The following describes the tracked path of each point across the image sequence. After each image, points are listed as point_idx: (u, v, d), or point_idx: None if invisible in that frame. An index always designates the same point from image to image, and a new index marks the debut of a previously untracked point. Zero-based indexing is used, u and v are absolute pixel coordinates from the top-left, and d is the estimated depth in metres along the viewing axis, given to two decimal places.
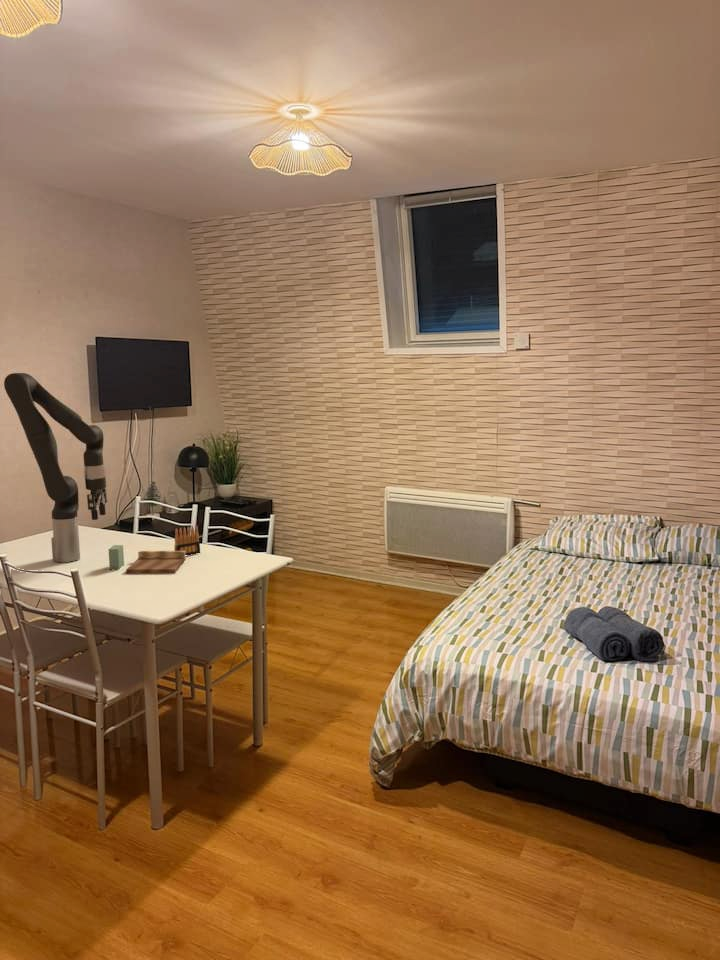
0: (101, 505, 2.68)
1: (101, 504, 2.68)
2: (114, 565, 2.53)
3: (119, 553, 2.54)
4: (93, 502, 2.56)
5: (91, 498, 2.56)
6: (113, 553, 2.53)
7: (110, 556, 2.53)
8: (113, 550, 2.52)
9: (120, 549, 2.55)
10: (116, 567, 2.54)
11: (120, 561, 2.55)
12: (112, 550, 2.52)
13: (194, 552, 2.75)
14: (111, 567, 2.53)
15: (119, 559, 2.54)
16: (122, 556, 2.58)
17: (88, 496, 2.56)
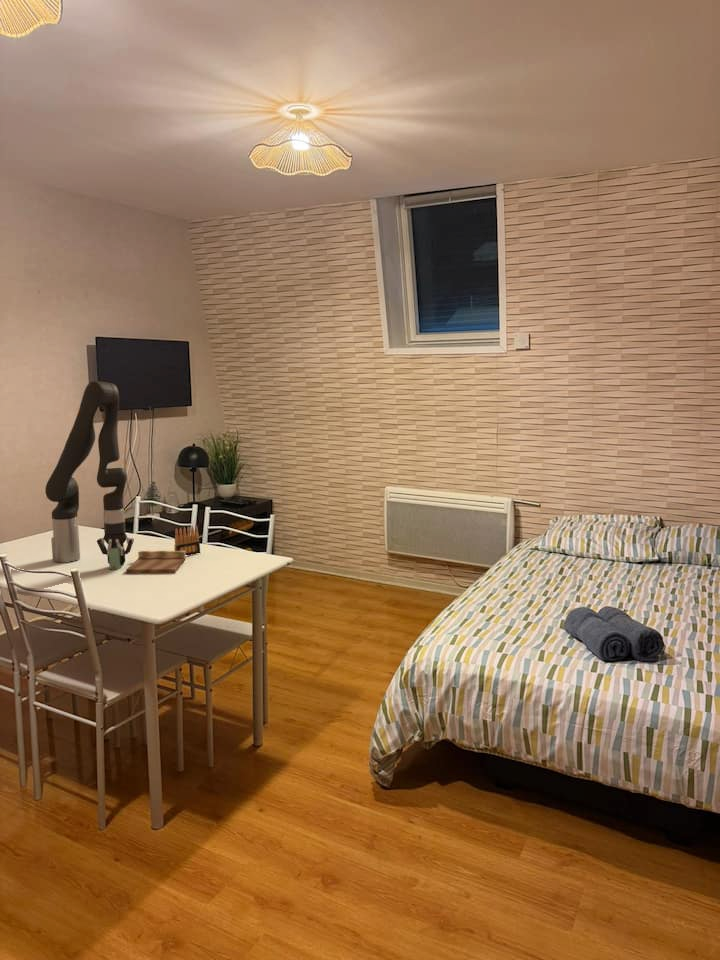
0: None
1: None
2: (114, 565, 2.53)
3: (119, 553, 2.54)
4: (131, 546, 2.57)
5: (132, 543, 2.56)
6: (113, 553, 2.53)
7: (110, 556, 2.53)
8: (113, 550, 2.52)
9: None
10: (116, 567, 2.54)
11: None
12: (112, 550, 2.52)
13: (194, 552, 2.75)
14: (111, 567, 2.53)
15: (119, 559, 2.54)
16: None
17: (132, 541, 2.54)
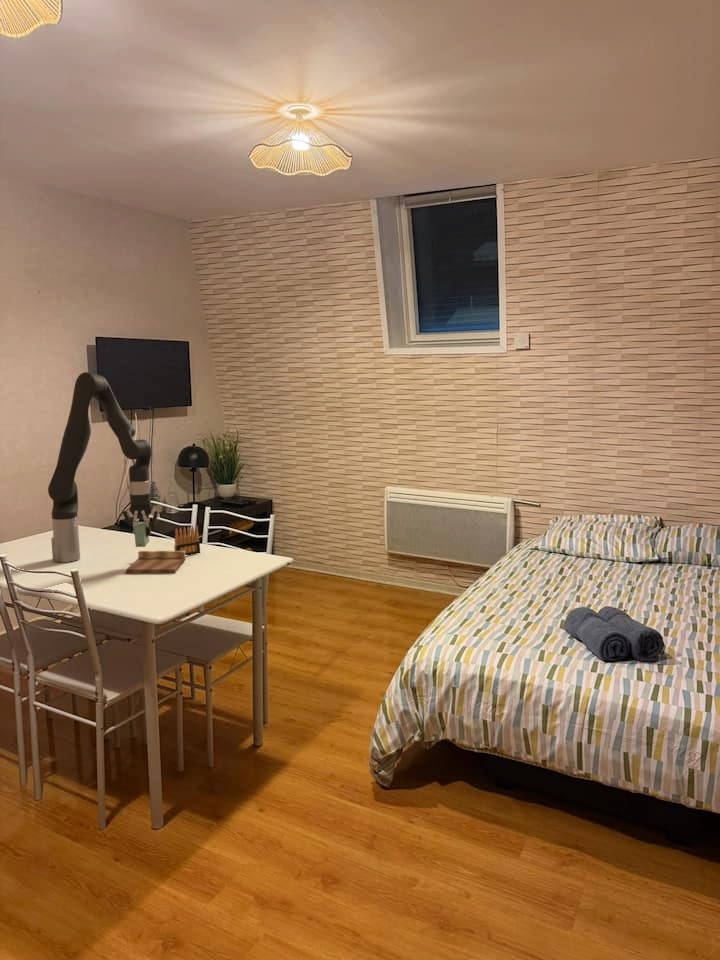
0: None
1: None
2: (140, 542, 2.56)
3: (144, 530, 2.56)
4: None
5: (157, 514, 2.58)
6: (138, 531, 2.54)
7: (136, 534, 2.55)
8: (138, 528, 2.54)
9: (145, 526, 2.57)
10: (142, 544, 2.56)
11: (145, 538, 2.57)
12: (137, 528, 2.54)
13: (194, 552, 2.75)
14: (137, 544, 2.56)
15: (145, 536, 2.56)
16: None
17: (157, 513, 2.57)
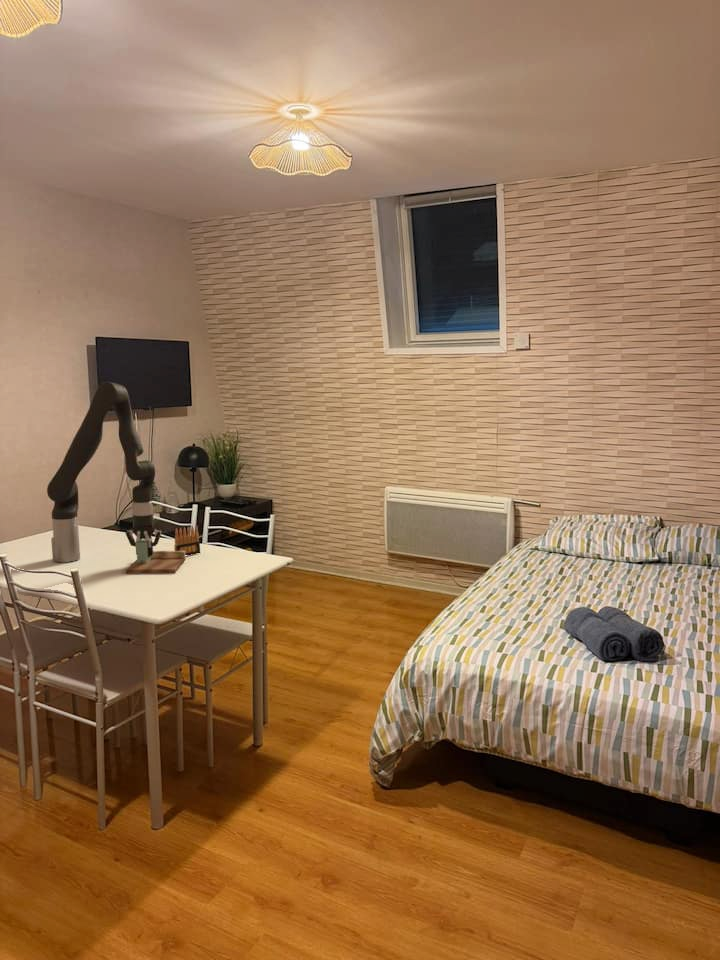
0: None
1: None
2: (142, 558, 2.57)
3: (147, 547, 2.57)
4: (159, 538, 2.60)
5: (160, 535, 2.59)
6: (141, 547, 2.56)
7: (138, 550, 2.56)
8: (141, 544, 2.56)
9: (147, 543, 2.59)
10: (144, 560, 2.57)
11: (147, 554, 2.58)
12: (140, 544, 2.56)
13: (194, 552, 2.75)
14: (139, 560, 2.57)
15: (147, 552, 2.58)
16: None
17: (160, 534, 2.58)
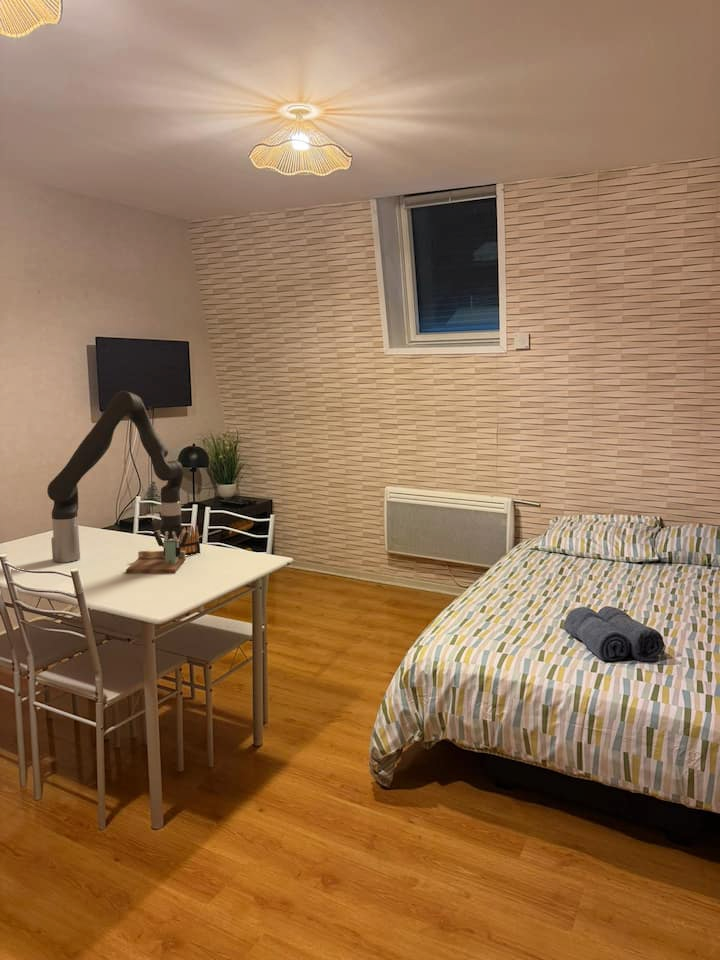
0: None
1: None
2: (170, 558, 2.57)
3: (175, 547, 2.58)
4: None
5: None
6: (169, 547, 2.56)
7: (166, 549, 2.56)
8: (169, 544, 2.56)
9: None
10: (172, 560, 2.57)
11: (175, 554, 2.58)
12: (168, 544, 2.56)
13: (194, 552, 2.75)
14: (167, 560, 2.57)
15: (175, 552, 2.58)
16: None
17: (188, 534, 2.58)
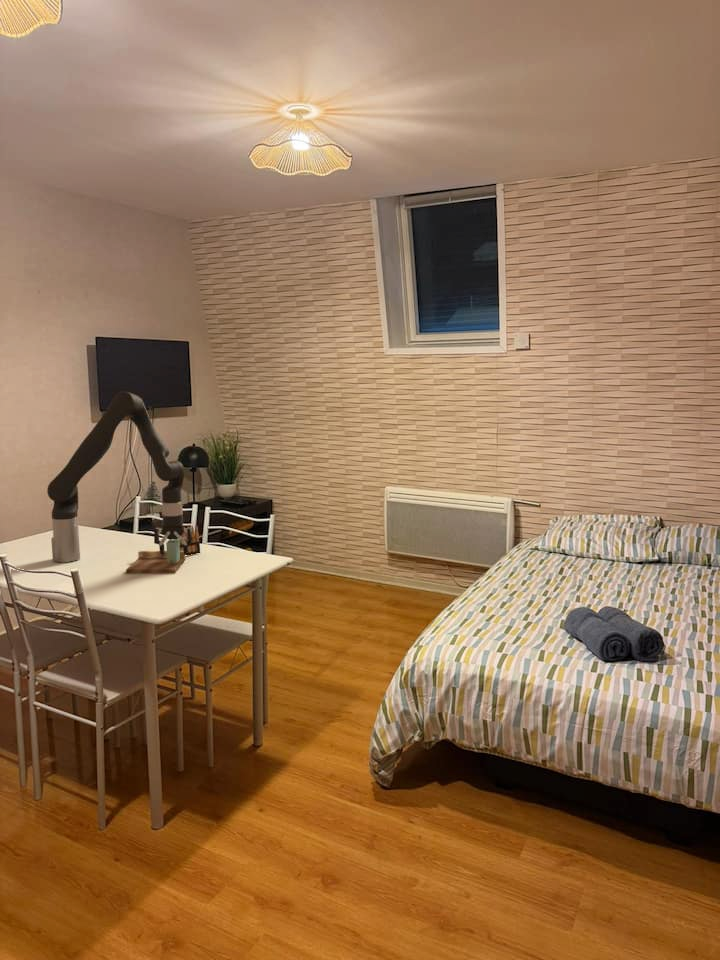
0: (163, 544, 2.59)
1: (162, 543, 2.59)
2: (171, 558, 2.57)
3: (176, 547, 2.58)
4: None
5: (191, 531, 2.59)
6: (171, 547, 2.56)
7: (168, 550, 2.56)
8: (171, 544, 2.56)
9: (177, 543, 2.59)
10: (173, 560, 2.57)
11: (177, 554, 2.58)
12: (170, 544, 2.56)
13: (194, 552, 2.75)
14: (168, 560, 2.57)
15: (176, 552, 2.58)
16: (178, 550, 2.61)
17: (190, 530, 2.58)
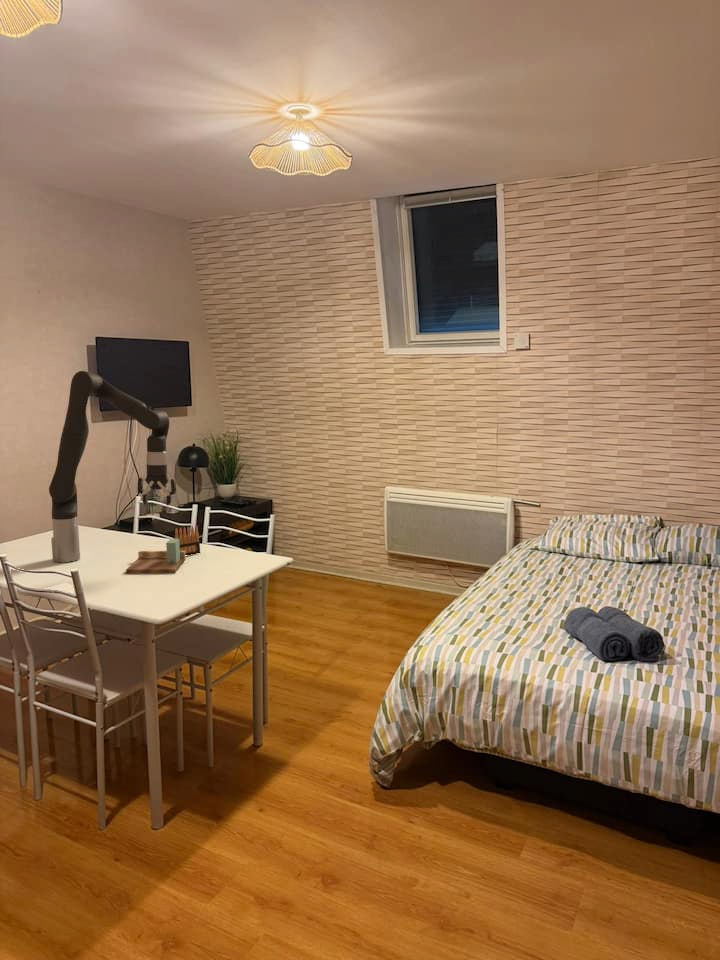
0: (146, 494, 2.59)
1: (146, 493, 2.59)
2: (171, 558, 2.57)
3: (176, 547, 2.58)
4: (175, 486, 2.59)
5: (175, 482, 2.58)
6: (171, 547, 2.56)
7: (168, 550, 2.56)
8: (171, 544, 2.56)
9: (177, 543, 2.59)
10: (173, 560, 2.57)
11: (177, 554, 2.58)
12: (170, 544, 2.56)
13: (194, 552, 2.75)
14: (168, 560, 2.57)
15: (176, 552, 2.58)
16: (178, 550, 2.61)
17: (174, 480, 2.57)
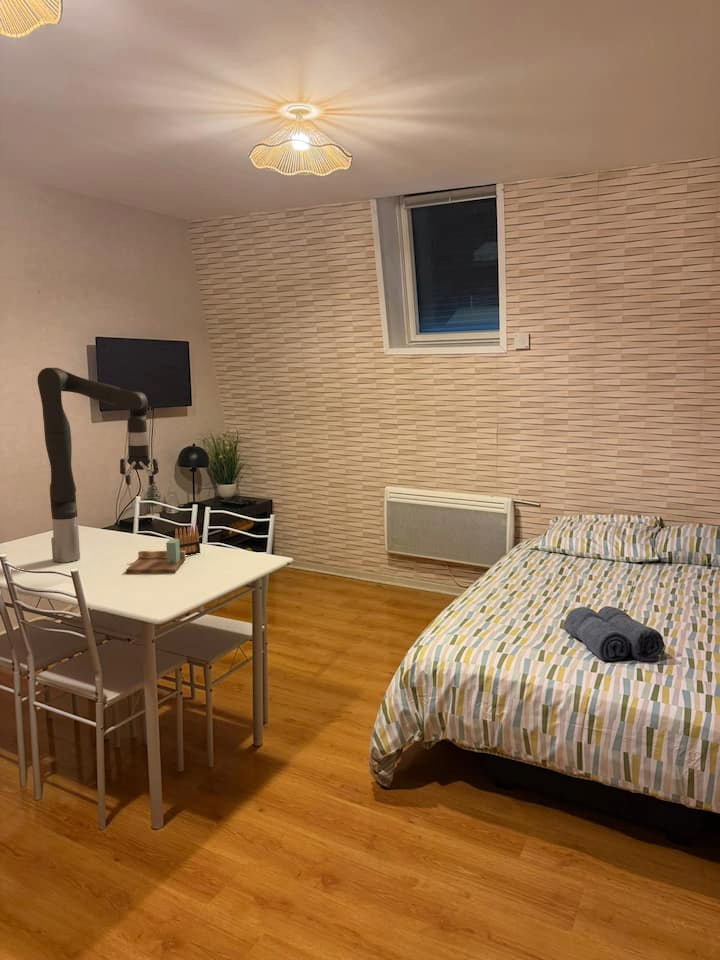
0: (129, 475, 2.62)
1: (128, 474, 2.62)
2: (171, 558, 2.57)
3: (176, 547, 2.58)
4: None
5: (157, 462, 2.62)
6: (171, 547, 2.56)
7: (168, 550, 2.56)
8: (171, 544, 2.56)
9: (177, 543, 2.59)
10: (173, 560, 2.57)
11: (177, 554, 2.58)
12: (170, 544, 2.56)
13: (194, 552, 2.75)
14: (168, 560, 2.57)
15: (176, 552, 2.58)
16: (178, 550, 2.61)
17: (156, 460, 2.61)
